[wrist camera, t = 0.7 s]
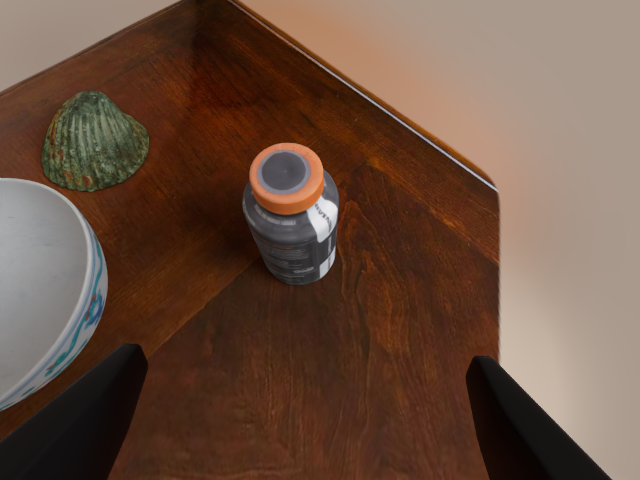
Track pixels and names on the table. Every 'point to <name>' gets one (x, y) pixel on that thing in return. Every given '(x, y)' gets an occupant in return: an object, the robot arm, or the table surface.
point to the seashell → (92, 144)
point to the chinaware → (44, 286)
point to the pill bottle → (292, 212)
